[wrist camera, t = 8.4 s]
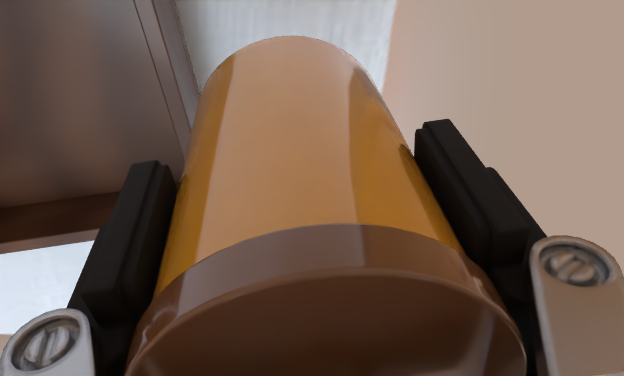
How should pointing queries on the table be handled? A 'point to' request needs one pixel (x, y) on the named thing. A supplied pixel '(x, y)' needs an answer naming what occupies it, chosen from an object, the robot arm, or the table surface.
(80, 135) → the chest
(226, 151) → the honey pot
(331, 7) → the table surface
